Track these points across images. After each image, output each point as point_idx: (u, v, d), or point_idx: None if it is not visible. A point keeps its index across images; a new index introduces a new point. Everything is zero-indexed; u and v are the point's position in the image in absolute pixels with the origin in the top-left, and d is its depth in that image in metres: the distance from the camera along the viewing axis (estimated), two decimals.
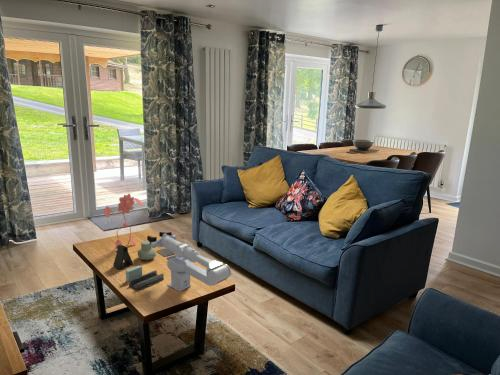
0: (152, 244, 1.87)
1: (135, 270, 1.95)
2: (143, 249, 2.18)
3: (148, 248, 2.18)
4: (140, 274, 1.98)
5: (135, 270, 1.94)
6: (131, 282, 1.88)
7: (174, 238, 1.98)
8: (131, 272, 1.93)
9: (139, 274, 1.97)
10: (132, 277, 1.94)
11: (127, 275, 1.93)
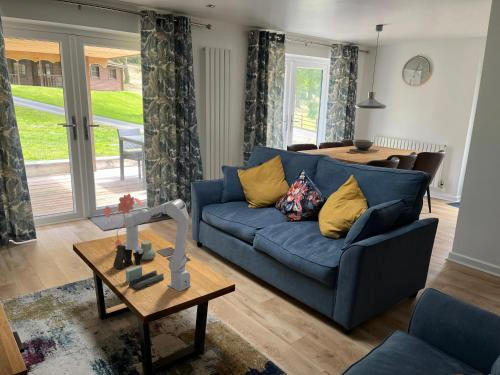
0: (140, 251, 1.88)
1: (135, 270, 1.95)
2: (143, 249, 2.18)
3: (148, 248, 2.18)
4: (140, 274, 1.98)
5: (135, 270, 1.94)
6: (131, 282, 1.88)
7: None
8: (131, 272, 1.93)
9: (139, 274, 1.97)
10: (132, 277, 1.94)
11: (127, 275, 1.93)
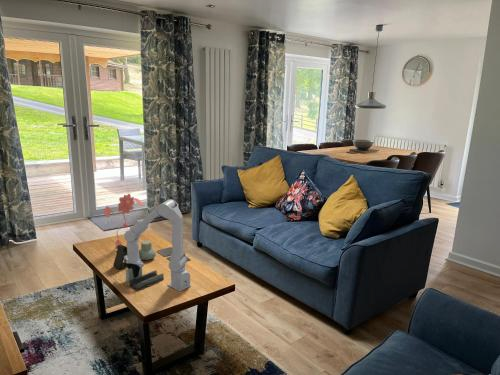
0: (141, 265, 1.90)
1: None
2: (143, 249, 2.18)
3: (148, 248, 2.18)
4: (140, 274, 1.97)
5: None
6: (131, 282, 1.88)
7: None
8: (131, 272, 1.93)
9: (139, 274, 1.97)
10: (132, 277, 1.94)
11: (127, 275, 1.92)
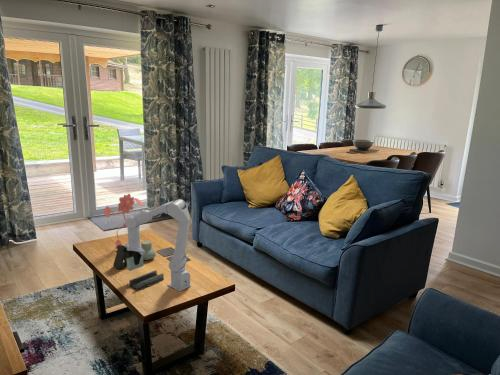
0: (142, 252, 1.87)
1: None
2: (143, 249, 2.18)
3: (148, 248, 2.18)
4: (141, 263, 1.96)
5: None
6: (131, 282, 1.88)
7: (128, 244, 1.96)
8: (132, 260, 1.91)
9: (140, 263, 1.95)
10: (133, 265, 1.92)
11: (128, 263, 1.91)
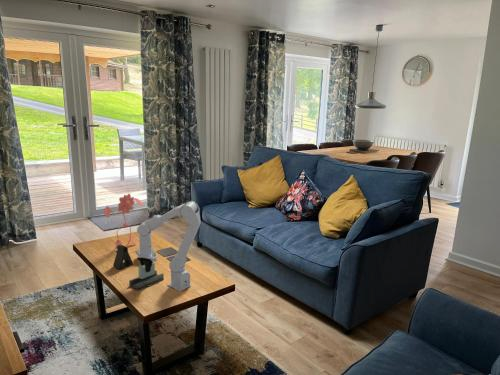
0: (154, 259, 1.85)
1: None
2: None
3: None
4: (153, 270, 1.93)
5: None
6: (131, 282, 1.88)
7: None
8: (144, 268, 1.89)
9: (152, 270, 1.93)
10: (145, 273, 1.90)
11: (140, 271, 1.88)
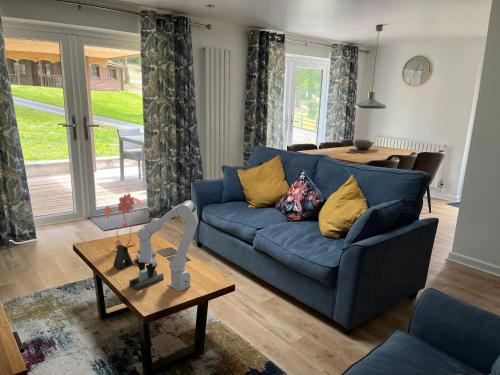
0: (154, 263, 1.86)
1: None
2: None
3: None
4: (153, 275, 1.94)
5: None
6: (131, 282, 1.88)
7: None
8: (144, 273, 1.89)
9: None
10: (145, 279, 1.90)
11: (140, 276, 1.89)
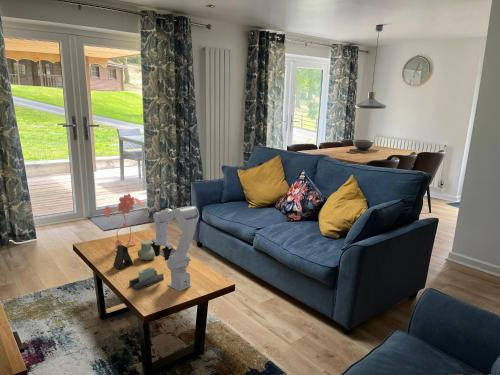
0: (170, 246, 1.94)
1: (148, 271, 1.91)
2: (143, 249, 2.18)
3: (148, 248, 2.18)
4: (153, 275, 1.94)
5: (148, 271, 1.91)
6: (131, 282, 1.88)
7: (154, 239, 2.03)
8: (144, 273, 1.89)
9: (152, 275, 1.93)
10: (145, 279, 1.90)
11: (140, 276, 1.89)
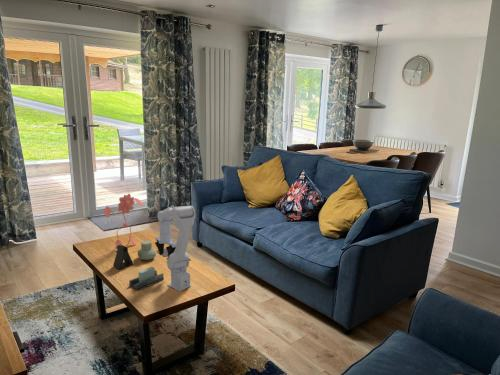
0: (174, 245, 1.96)
1: (148, 271, 1.91)
2: (143, 249, 2.18)
3: (148, 248, 2.18)
4: (153, 275, 1.94)
5: (148, 271, 1.91)
6: (131, 282, 1.88)
7: None
8: (144, 273, 1.89)
9: (152, 275, 1.93)
10: (145, 279, 1.90)
11: (140, 276, 1.89)
